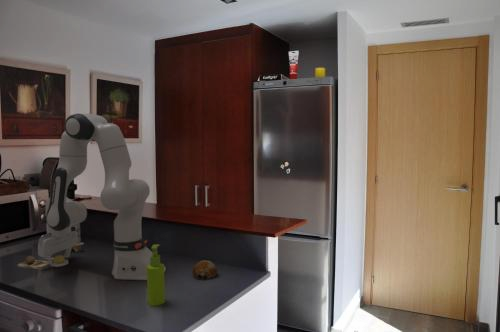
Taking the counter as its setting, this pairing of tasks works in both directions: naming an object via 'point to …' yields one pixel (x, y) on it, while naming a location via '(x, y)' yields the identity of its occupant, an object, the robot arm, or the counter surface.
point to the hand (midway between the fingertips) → (59, 260)
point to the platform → (77, 246)
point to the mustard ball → (59, 259)
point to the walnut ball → (29, 260)
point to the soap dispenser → (155, 279)
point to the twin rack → (35, 265)
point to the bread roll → (204, 270)
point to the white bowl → (60, 264)
